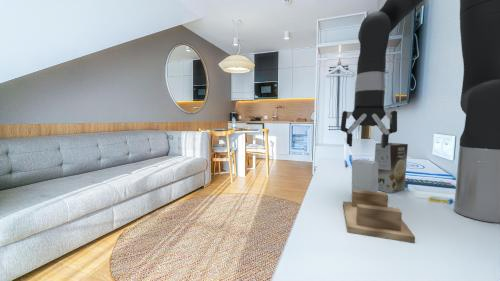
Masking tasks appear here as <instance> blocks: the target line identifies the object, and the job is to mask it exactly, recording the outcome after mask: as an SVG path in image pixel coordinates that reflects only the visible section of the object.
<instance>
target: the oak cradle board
mask: <svg viewBox="0 0 500 281" xmlns="http://www.w3.org/2000/svg"><path fill="white" fill-rule="evenodd" d="M388 203H389V195H388V192H382V191H381V192H380V191H378V192H371V191H361V190H352V189H351V201H344V200H343V201H342V208H343V213H344V214H343V215H344V218H345V225H346V226H345V227H346V230H347V231H346V232H347V233H349V234H350V233H352V234H357V235H363V236H370V237H377V238H383V239H390V240H395V241H400V242H401V241H403V242H406V243H407V242H408V243H414V244H415V242H416V236H415V234H414V233H413V232H412V230H411V229H410V228H409V227H408V225H407V224H406V222H405V221H404V220H403V219H402V218H403V217H402V215H403V211H401V210H400V208H394V207H393V206H388V205H389V204H388Z"/></svg>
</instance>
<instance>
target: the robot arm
mask: <svg viewBox="0 0 500 281" xmlns="http://www.w3.org/2000/svg"><path fill="white" fill-rule="evenodd" d="M422 2H424V0H386V1H385V2H384V3H383V6H382V7H381V8H380V9H379V10H378V11H373V12H370V13H369V14H367V16H366V17H364V19H363V20H362V22H361V24H360V27H359V31H358V36H357V37H358V39H357V40H358V42H359V55H358V57H357V59H358V60H357V68H356V79H355V85H354V102H353V104H354V105H353V110H352V111H346V110H343V111H342V113H341V119H340V120H341V122H340V131H341V132H343V133H346V144H347V145H348V147H350V148H351V147H353V132H354V131H355V130H356V129H357V127H358V126H361V127H366V126H368V127H377V128H378V129H379V131H380V132H381V133H382V134H381V137H380V138H381V139H380V143H381V148H385V146H387V145H388V143H389V140H390V138H389V136H390V134H394V133H397V132H398V111H397V110H391V111H385V96H386V64H387V63H386V62H387V58H386V57H387V56H386V55H387V48H388V44H389V40H390V33H391V32H392V31H393V30H394V29H395V28H396V27H397V26H398V25H399V23H401V22H402V21H403V20H404V19H405V18H406V17H407V16H408V15H409V14H411V13H412V12H413V11H414V10H415V9H416V8H417V7H418V6H419V5H421V4H422ZM459 31H460V32H459V33H460V43H461V44H460V45H461V54H462V62H463V75H462V76H463V78H462V86H461V96H460V102H459V103H460V108H461V110H462V112H463V113H464V114H465V119H464V128H463V131H462V134H461V135H460V138H459V150H458V159H457V161H458V162H457V171H456V181H455V182H456V183H455V192H454V193H455V194H454V202H453V210H454V212H456V213H457V214H459V215H461V216H464V217H467V218H471V219H474V220H477V221H482V222H489V223H494V224H495V223H496V224H497V223H500V0H459ZM350 116H352V117H353V119H354V120H355V121H353V123H352V124H351V125H350V126H349V128H347V120H348V119H349V118H350ZM385 116H386V117H387V119H388V120H389V128H387V127H386V125H385V123H383V121H382V120H383V119H384V118H385Z"/></svg>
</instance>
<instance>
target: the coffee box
mask: <svg viewBox="0 0 500 281" xmlns="http://www.w3.org/2000/svg"><path fill="white" fill-rule="evenodd" d="M374 148H375V149H374V161H376V162H378V191H379V192H380V191H381V192H383V193H387V194H393V193H397V192H400V190H401V191H403V190H402V189H404V190H405V189H406V188H405V187H406V175H407V174H406V173H407V162H408V160H407V159H408V148H409V144H408V143H398V142H396V143H395V142H388V145H387V146H385V148H381V142H379V143H377V142H376V143H375V147H374ZM404 185H405V187H404Z"/></svg>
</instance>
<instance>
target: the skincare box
mask: <svg viewBox="0 0 500 281" xmlns="http://www.w3.org/2000/svg"><path fill="white" fill-rule="evenodd" d="M352 190H361V191H371V192H379V190H378V162H376V161H375V160H366V159H359V158H358V159H354V160H351V191H352Z"/></svg>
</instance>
